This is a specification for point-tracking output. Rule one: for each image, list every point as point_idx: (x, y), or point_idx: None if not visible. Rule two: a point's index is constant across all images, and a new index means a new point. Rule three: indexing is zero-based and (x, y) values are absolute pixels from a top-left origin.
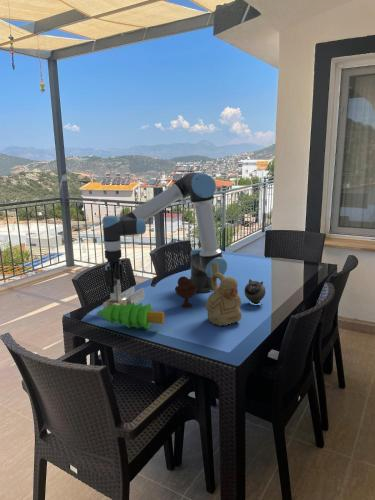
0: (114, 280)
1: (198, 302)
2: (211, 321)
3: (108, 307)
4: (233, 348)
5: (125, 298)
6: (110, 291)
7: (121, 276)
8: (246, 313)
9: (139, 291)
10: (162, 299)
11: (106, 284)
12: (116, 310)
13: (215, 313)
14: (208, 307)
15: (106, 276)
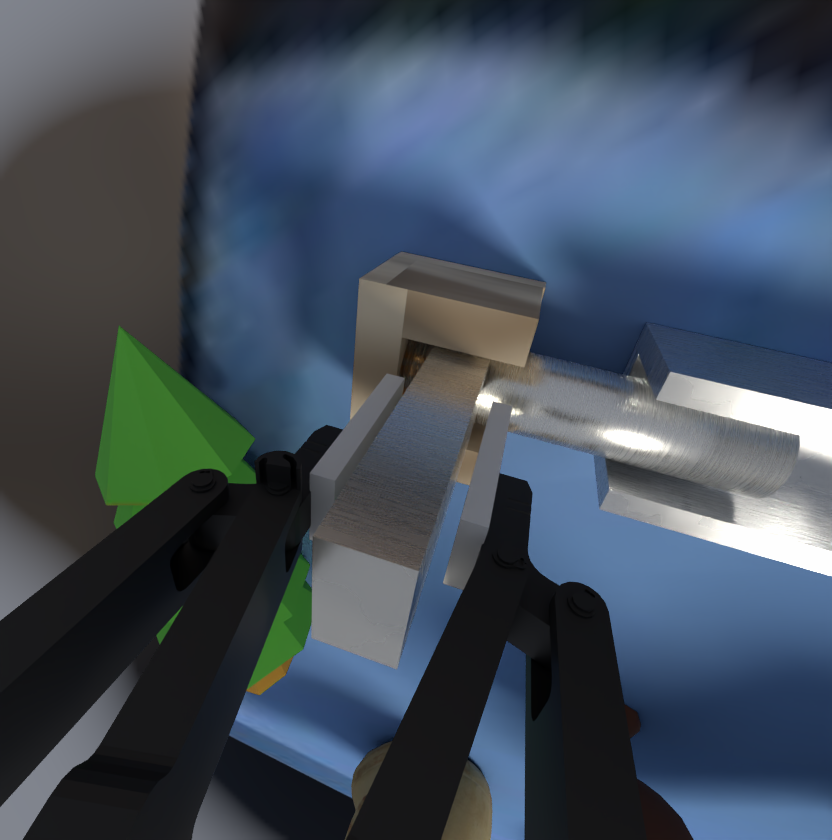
0: (272, 619)
1: (663, 763)
2: (386, 747)
3: (107, 460)
4: (255, 730)
5: (585, 451)
6: (308, 445)
7: (526, 711)
8: (512, 826)
9: (812, 564)
10: (770, 632)
11: (175, 488)
12: (119, 512)
13: (361, 798)
14: (355, 816)
15: (23, 632)
